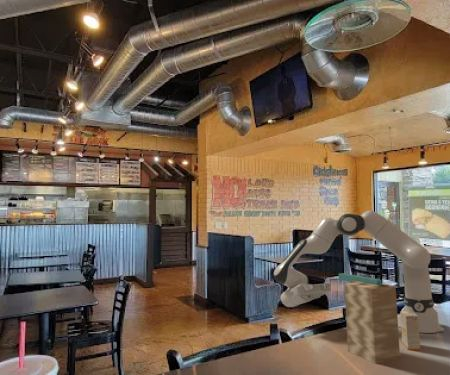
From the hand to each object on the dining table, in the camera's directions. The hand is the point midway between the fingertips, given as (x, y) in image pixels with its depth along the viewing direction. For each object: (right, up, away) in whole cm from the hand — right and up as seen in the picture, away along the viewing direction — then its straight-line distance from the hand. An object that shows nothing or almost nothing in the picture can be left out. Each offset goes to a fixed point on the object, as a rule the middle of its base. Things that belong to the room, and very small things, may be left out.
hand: (321, 285), depth 165 cm
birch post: (+12, -19, -27) cm, 35 cm away
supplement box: (+31, -19, -20) cm, 41 cm away
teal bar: (+10, +7, -20) cm, 23 cm away
